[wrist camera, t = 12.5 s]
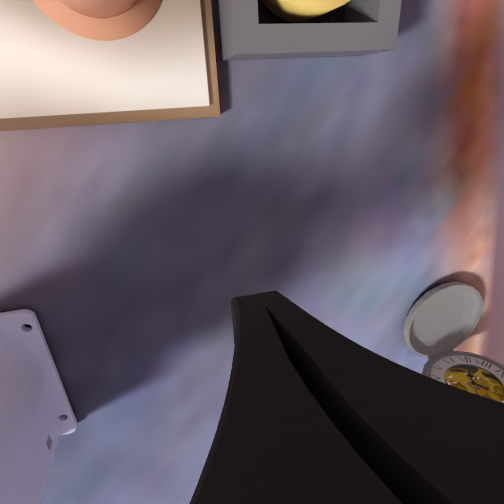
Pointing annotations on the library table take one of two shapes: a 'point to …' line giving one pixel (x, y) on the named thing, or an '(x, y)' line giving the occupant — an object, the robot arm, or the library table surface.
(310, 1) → the button
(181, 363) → the library table surface
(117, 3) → the brown cylinder
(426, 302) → the pocket watch
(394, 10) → the button base
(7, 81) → the colouring board
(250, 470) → the robot arm
